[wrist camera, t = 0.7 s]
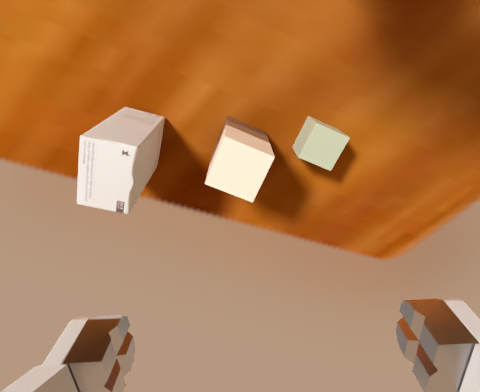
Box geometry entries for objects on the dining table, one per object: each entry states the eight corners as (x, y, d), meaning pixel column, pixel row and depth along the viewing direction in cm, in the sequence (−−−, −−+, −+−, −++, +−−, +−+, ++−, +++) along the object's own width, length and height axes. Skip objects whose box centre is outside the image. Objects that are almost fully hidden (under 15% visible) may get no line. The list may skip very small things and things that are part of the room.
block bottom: (227, 115, 45) (226, 124, 39) (265, 132, 46) (269, 143, 40) (212, 153, 47) (208, 166, 41) (249, 168, 48) (250, 183, 42)
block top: (226, 124, 39) (224, 136, 34) (269, 143, 40) (275, 157, 35) (208, 166, 41) (204, 183, 36) (250, 183, 42) (252, 202, 37)
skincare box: (125, 105, 44) (75, 128, 30) (168, 117, 45) (138, 144, 31) (119, 161, 47) (71, 204, 34) (159, 171, 48) (128, 217, 34)
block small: (308, 115, 45) (316, 122, 40) (338, 129, 46) (350, 137, 41) (292, 147, 47) (298, 157, 42) (321, 159, 47) (330, 171, 43)
